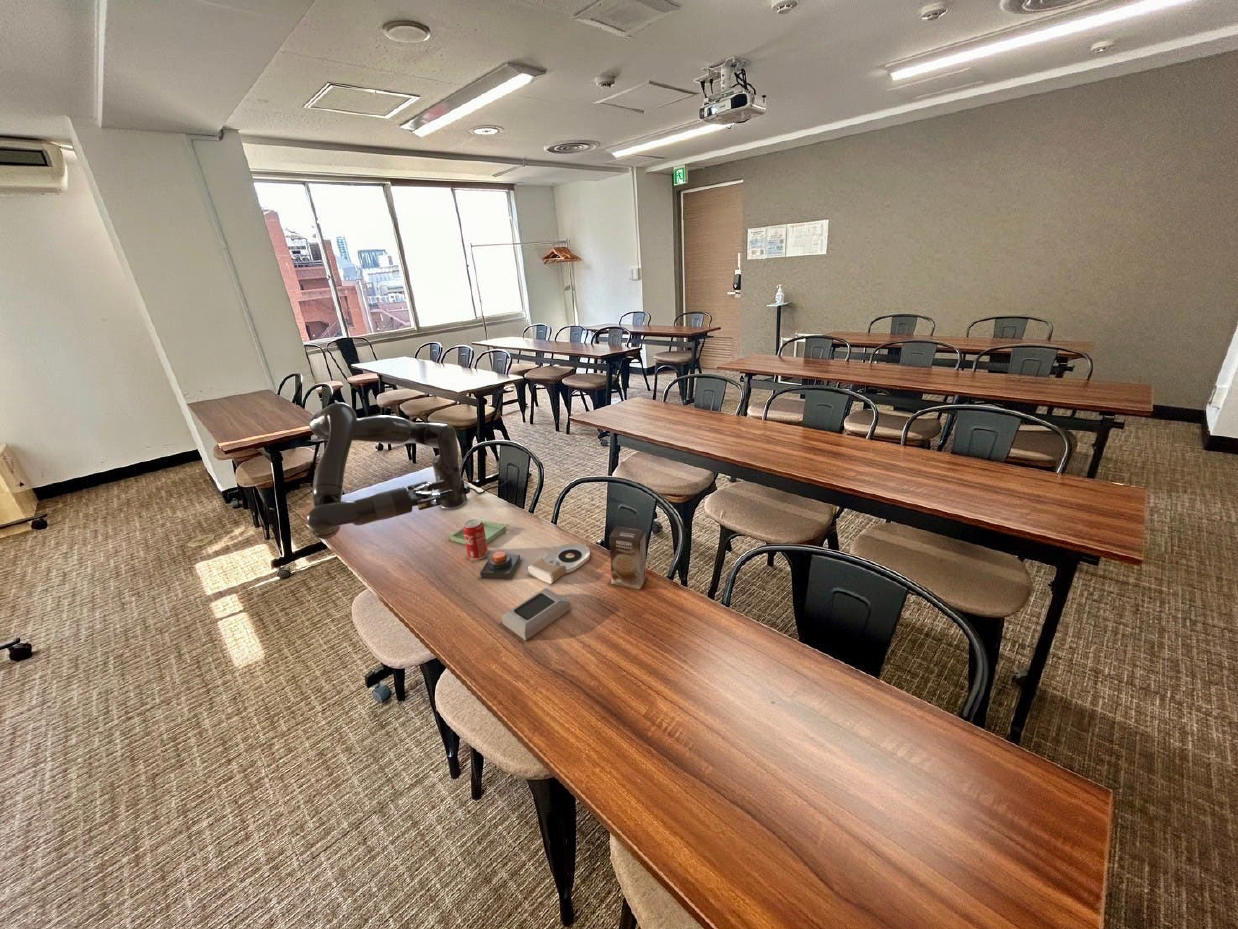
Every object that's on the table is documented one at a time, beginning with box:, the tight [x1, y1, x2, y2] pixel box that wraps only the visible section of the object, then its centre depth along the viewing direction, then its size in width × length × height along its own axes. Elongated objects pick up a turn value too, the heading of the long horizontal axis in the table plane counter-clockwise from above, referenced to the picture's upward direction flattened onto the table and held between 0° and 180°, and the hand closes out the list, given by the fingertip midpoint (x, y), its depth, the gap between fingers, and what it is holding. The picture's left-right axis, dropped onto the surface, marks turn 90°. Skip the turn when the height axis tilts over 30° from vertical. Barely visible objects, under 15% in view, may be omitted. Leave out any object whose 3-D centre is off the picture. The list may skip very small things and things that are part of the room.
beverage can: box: [462, 518, 489, 561], centre depth 152 cm, size 6×6×12 cm
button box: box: [479, 552, 521, 581], centre depth 146 cm, size 10×9×4 cm
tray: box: [449, 518, 507, 545], centre depth 166 cm, size 13×13×2 cm
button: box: [493, 551, 506, 562], centre depth 145 cm, size 4×4×2 cm
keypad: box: [501, 587, 571, 641], centre depth 125 cm, size 10×4×15 cm
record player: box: [527, 542, 591, 585], centre depth 148 cm, size 12×3×20 cm
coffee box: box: [609, 525, 647, 590], centre depth 136 cm, size 9×6×16 cm
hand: (449, 488), depth 142 cm, fingers open, 8 cm apart
